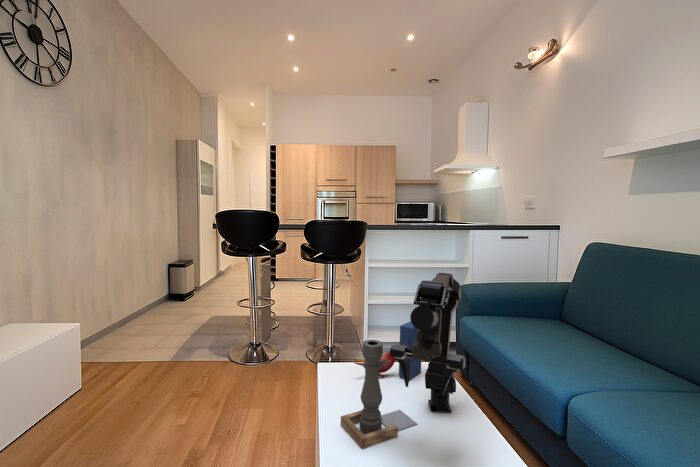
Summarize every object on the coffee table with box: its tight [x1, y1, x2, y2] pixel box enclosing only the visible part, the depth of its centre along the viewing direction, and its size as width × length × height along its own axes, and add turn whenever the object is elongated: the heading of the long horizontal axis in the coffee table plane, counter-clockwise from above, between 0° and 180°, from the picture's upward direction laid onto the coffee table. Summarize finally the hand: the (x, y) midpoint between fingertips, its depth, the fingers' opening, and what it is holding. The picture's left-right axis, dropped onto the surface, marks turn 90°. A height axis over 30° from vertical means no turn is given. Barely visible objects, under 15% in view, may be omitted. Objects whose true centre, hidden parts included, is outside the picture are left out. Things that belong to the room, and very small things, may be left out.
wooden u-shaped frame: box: [340, 409, 399, 449], centre depth 101 cm, size 12×12×2 cm
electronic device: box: [398, 320, 422, 381], centre depth 136 cm, size 10×5×20 cm, turn 141°
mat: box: [381, 409, 418, 432], centre depth 106 cm, size 9×8×1 cm
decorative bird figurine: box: [354, 350, 396, 377], centre depth 134 cm, size 3×18×10 cm, turn 103°
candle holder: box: [359, 339, 384, 435], centre depth 101 cm, size 6×6×25 cm
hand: (424, 390), depth 92 cm, fingers open, 9 cm apart
